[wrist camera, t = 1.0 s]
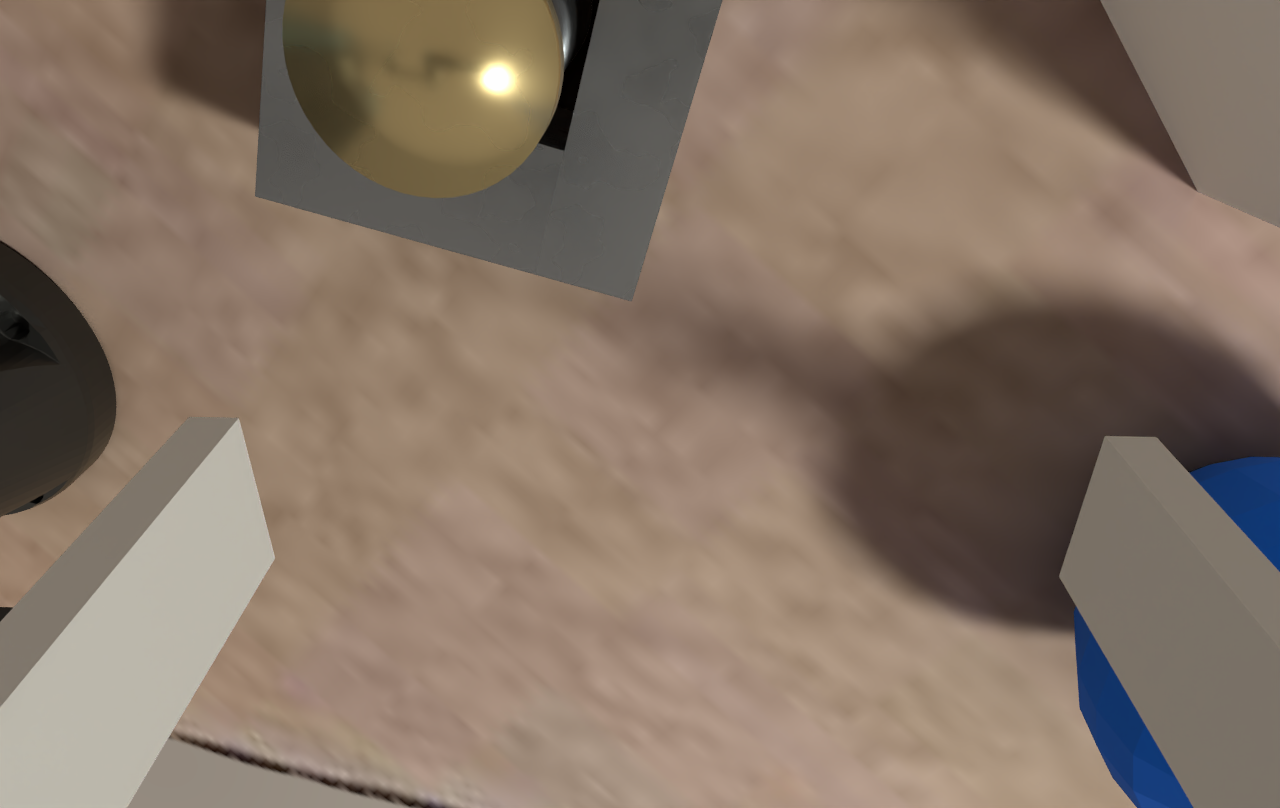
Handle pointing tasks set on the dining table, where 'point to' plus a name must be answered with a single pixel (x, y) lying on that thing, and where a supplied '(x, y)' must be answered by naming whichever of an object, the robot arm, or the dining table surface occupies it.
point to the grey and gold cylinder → (432, 84)
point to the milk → (1213, 90)
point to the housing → (550, 176)
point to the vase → (1272, 519)
